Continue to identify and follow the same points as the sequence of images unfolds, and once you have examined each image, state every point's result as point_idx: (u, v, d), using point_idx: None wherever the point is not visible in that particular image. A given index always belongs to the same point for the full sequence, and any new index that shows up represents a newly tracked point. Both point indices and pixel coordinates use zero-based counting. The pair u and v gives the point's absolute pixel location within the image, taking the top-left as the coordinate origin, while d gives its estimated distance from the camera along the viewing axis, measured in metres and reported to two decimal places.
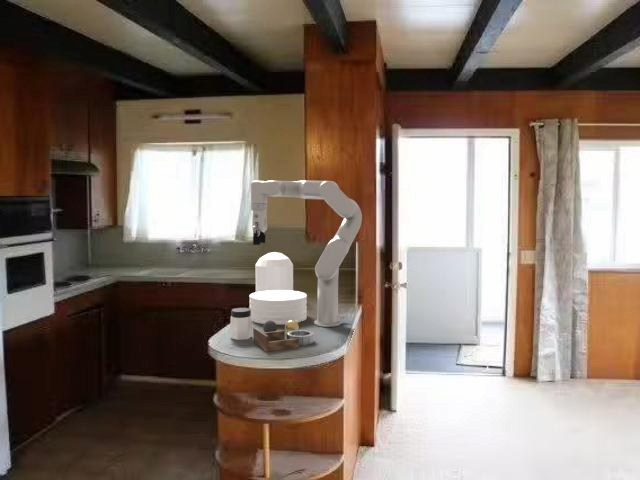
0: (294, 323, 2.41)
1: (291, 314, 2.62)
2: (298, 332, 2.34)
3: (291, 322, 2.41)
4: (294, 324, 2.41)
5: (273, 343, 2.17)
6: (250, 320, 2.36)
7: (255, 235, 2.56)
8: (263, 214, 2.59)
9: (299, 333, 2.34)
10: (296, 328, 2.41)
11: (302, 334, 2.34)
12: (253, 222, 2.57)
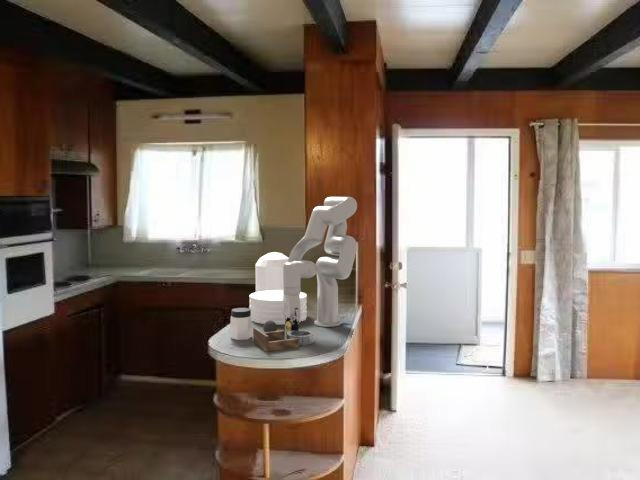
0: None
1: None
2: (298, 332, 2.34)
3: (291, 322, 2.41)
4: None
5: (273, 343, 2.17)
6: (250, 320, 2.36)
7: None
8: (284, 297, 2.42)
9: (299, 333, 2.34)
10: None
11: (302, 334, 2.34)
12: None
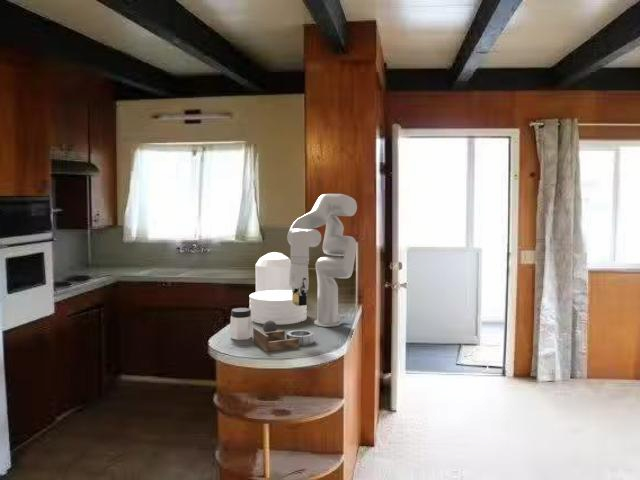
0: None
1: (291, 314, 2.62)
2: (298, 332, 2.34)
3: (298, 294, 2.27)
4: None
5: (273, 343, 2.17)
6: (250, 320, 2.36)
7: None
8: (291, 267, 2.29)
9: (299, 333, 2.34)
10: None
11: (302, 334, 2.34)
12: None
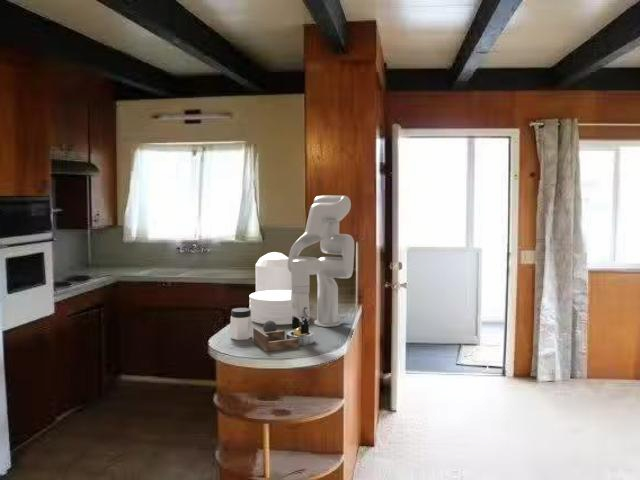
0: None
1: None
2: None
3: (299, 330, 2.28)
4: None
5: (273, 343, 2.17)
6: (250, 320, 2.36)
7: None
8: (292, 296, 2.29)
9: None
10: None
11: None
12: None
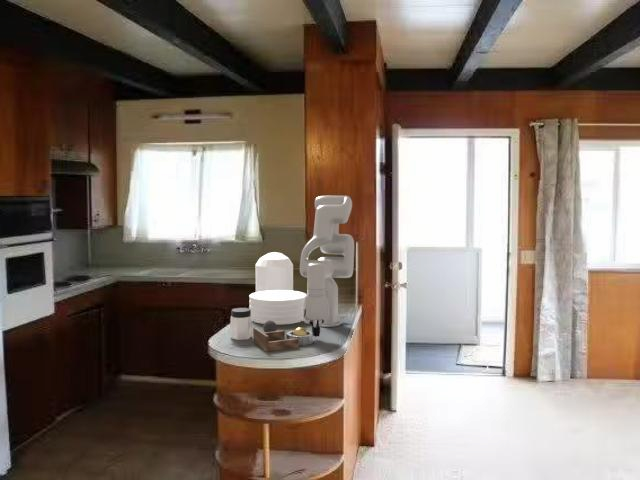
0: (302, 331, 2.27)
1: (291, 314, 2.62)
2: None
3: (299, 330, 2.28)
4: (303, 332, 2.27)
5: (273, 343, 2.17)
6: (250, 320, 2.36)
7: None
8: None
9: None
10: None
11: None
12: (328, 308, 2.33)
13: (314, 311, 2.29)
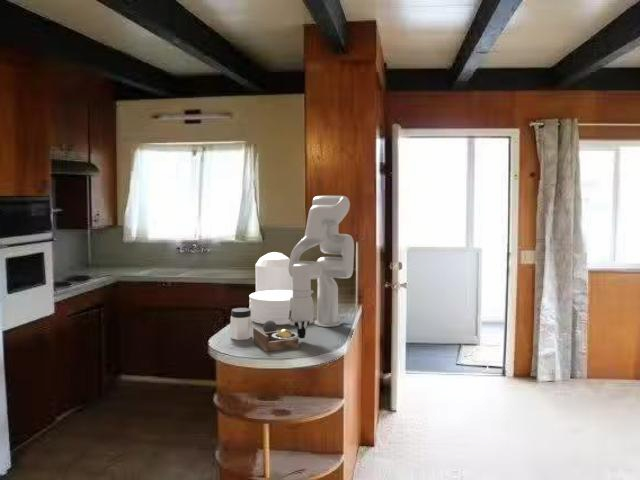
0: None
1: None
2: None
3: None
4: None
5: (273, 343, 2.17)
6: (250, 320, 2.36)
7: None
8: None
9: None
10: (286, 335, 2.24)
11: None
12: (313, 309, 2.30)
13: (299, 312, 2.26)
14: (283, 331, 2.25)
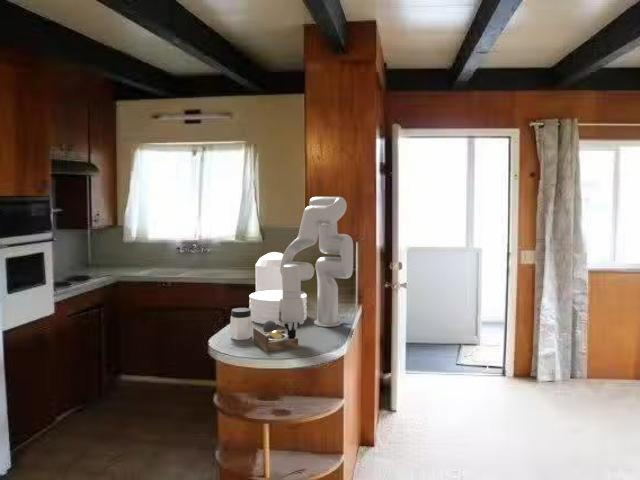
0: None
1: None
2: None
3: None
4: None
5: (273, 343, 2.17)
6: (250, 320, 2.36)
7: None
8: None
9: None
10: None
11: None
12: (303, 310, 2.28)
13: (289, 314, 2.24)
14: None
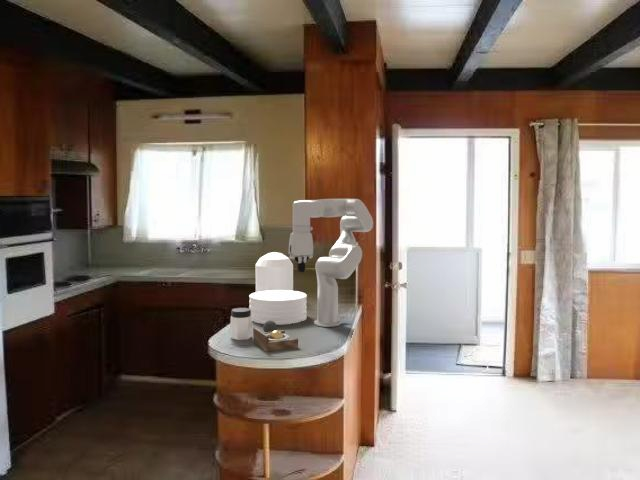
0: None
1: (291, 314, 2.62)
2: None
3: None
4: None
5: (273, 343, 2.17)
6: (250, 320, 2.36)
7: None
8: None
9: None
10: None
11: None
12: (312, 245, 2.41)
13: (299, 247, 2.38)
14: None
